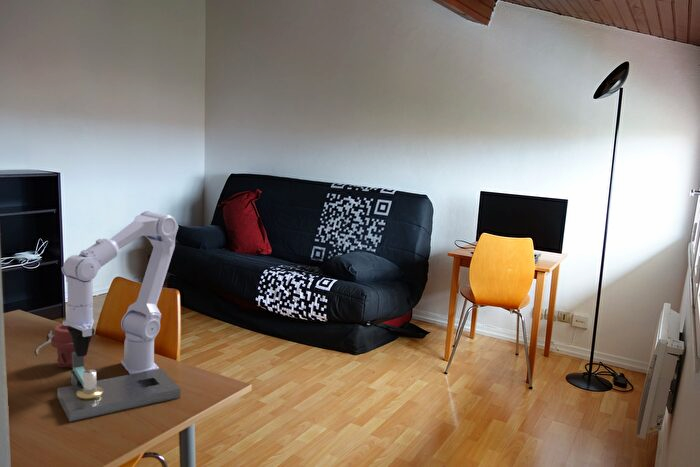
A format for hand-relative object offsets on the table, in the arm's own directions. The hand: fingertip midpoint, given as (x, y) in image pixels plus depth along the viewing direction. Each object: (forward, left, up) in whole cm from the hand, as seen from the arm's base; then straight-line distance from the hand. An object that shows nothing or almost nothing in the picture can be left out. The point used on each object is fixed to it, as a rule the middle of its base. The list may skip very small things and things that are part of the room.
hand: (81, 354), depth 150 cm
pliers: (-37, -1, -10) cm, 38 cm away
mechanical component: (-17, +1, -10) cm, 20 cm away
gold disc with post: (+9, 0, -9) cm, 13 cm away
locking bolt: (+1, 0, -6) cm, 6 cm away
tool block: (+6, +7, -9) cm, 13 cm away
